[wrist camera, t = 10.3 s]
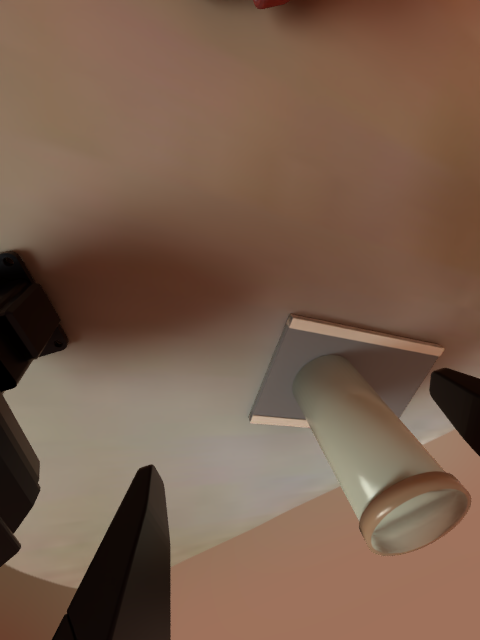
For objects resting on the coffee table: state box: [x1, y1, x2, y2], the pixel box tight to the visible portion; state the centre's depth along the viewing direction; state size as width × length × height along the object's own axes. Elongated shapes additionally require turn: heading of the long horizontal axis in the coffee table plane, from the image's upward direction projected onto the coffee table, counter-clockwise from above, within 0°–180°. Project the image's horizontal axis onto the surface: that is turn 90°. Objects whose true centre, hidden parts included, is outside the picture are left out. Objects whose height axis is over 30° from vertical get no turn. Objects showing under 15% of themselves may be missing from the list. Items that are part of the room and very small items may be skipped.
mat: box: [248, 314, 445, 428], centre depth 27 cm, size 15×10×1 cm, turn 72°
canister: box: [292, 355, 471, 556], centre depth 21 cm, size 6×6×12 cm
